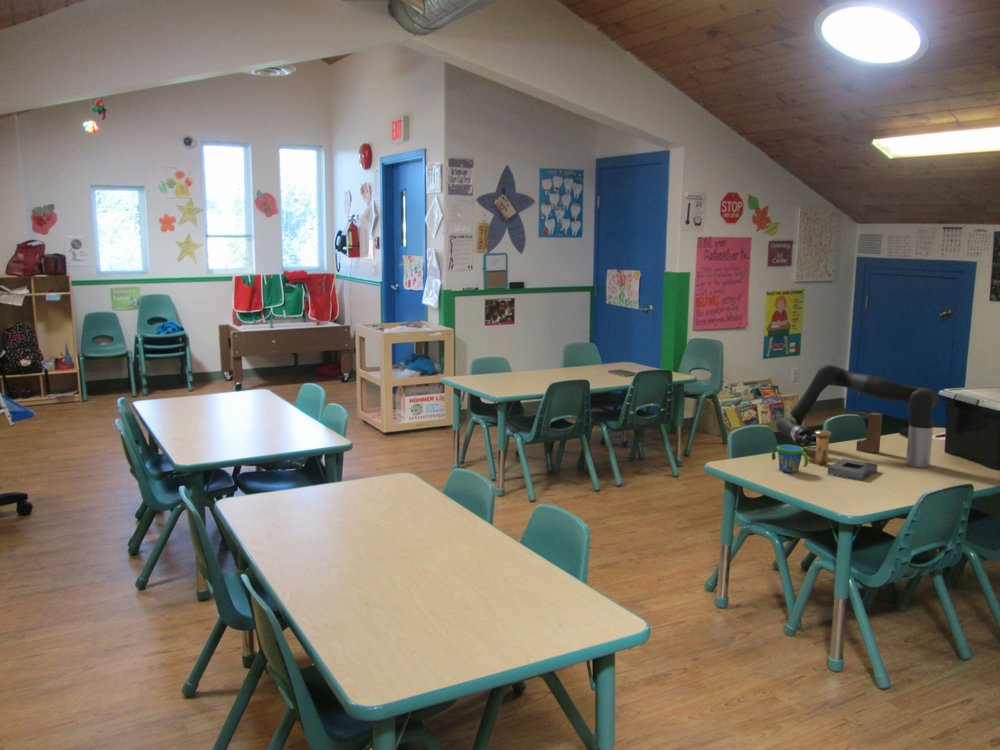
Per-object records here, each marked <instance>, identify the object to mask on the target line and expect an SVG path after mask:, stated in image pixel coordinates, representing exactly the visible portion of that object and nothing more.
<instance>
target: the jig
mask: <svg viewBox="0 0 1000 750" xmlns="http://www.w3.org/2000/svg"><path fill="white" fill-rule="evenodd" d="M827 467H828V468H827V475H829V474H833V475H832V476H835V475H838V476H837V477H840V476H844V477H843V478H846V477H848V478H847V479H851V478H853V479H852V480H856V479H857V481H862V480H863V481H864V480H867V478H869V477H870V476H872V475H874V474H875V473H877V472H878V464H877V463H871V462H865V461H860V460H852V459H847V458H842V459H840V460H839V461H837V462H835V463H833V464H831V465H830V466H827Z"/></svg>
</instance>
